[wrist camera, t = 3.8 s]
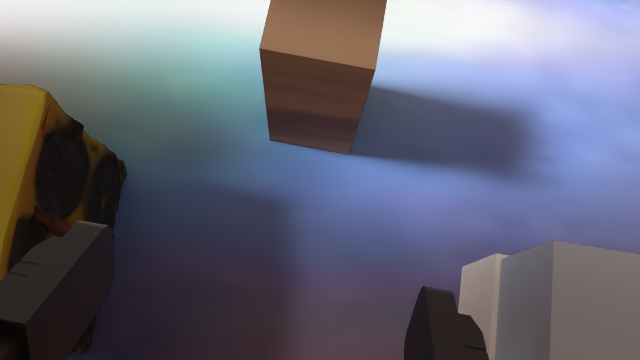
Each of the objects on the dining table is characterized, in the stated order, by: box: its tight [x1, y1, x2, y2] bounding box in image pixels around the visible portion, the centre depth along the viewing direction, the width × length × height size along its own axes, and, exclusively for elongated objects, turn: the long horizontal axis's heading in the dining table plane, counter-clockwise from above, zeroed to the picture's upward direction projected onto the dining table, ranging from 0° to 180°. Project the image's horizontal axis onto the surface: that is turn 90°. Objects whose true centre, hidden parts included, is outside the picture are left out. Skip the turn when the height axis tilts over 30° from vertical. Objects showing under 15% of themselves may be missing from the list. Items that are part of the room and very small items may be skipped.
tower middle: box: [495, 240, 640, 360], centre depth 20 cm, size 6×6×5 cm
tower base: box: [458, 253, 509, 360], centre depth 25 cm, size 6×6×5 cm
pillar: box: [259, 0, 387, 155], centre depth 26 cm, size 4×4×10 cm
